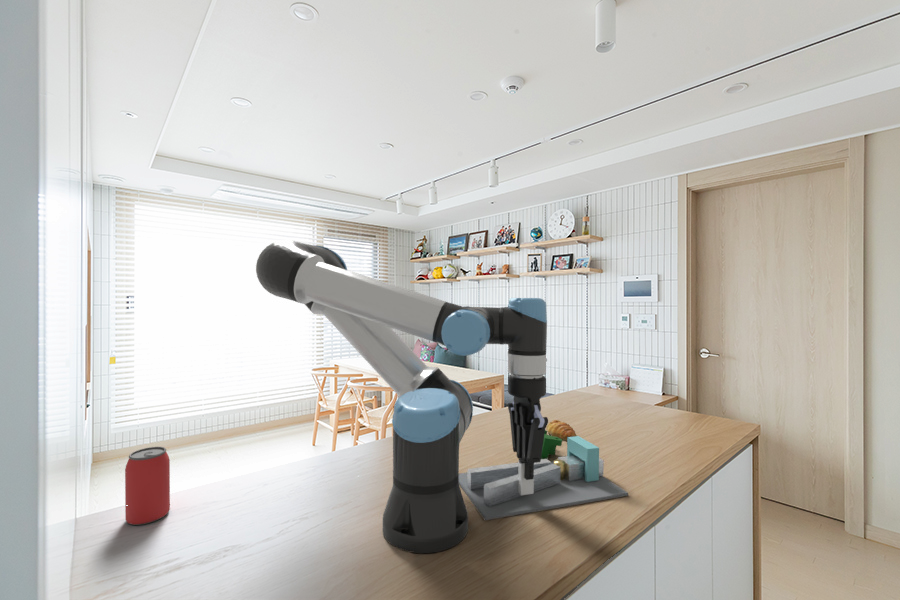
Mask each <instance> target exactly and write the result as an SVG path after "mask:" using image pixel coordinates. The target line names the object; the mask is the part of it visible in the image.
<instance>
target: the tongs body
mask: <svg viewBox="0 0 900 600" xmlns="http://www.w3.org/2000/svg"><path fill="white" fill-rule="evenodd" d="M553 461H554V464H555V465H557V466H559V467H561V473H560V480H564V479H565V478H566V479H567V480H568V481H571V480H578V479H585V461H584V460H582V459H581V458H579V457H577V456H576V455H571V456H567V455H565V456H558V457H557V458H556V459H554V460H553ZM604 462H605V461H604V459H603V458H601V457H599V476H603V477H604V466H605V465H604ZM548 465H551V462H550V460H549V459H548V458H547V459H541V461H540V462H537V463H534V469H538V468H541V467H545V466H548ZM467 472H468V474H467V485H468V487H469V488H470V489H471V490H472V489H478V488H484V484H487V483H490V482H494V481H497V480H500V479H504V478H507V477H511V476H514V475H517V474H518V461H517V462H511V463H505V464H503V463H502V464H496V465H489V466H480V467H474V468H467Z"/></svg>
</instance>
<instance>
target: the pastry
mask: <svg viewBox="0 0 900 600" xmlns="http://www.w3.org/2000/svg"><path fill="white" fill-rule="evenodd" d="M546 431H547V434H548V435H550V436H554V437H558V438H560V439H562V440H563V441H566V442H567V437H574V436H578V435H577V434H576V431H575V430H574V429H573V427H572V426H570V424H567V422H564V421H561V420H558V419H553V420H552V421H550V422H548V424H547V426H546Z"/></svg>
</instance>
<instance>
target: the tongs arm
mask: <svg viewBox="0 0 900 600" xmlns="http://www.w3.org/2000/svg"><path fill="white" fill-rule="evenodd" d="M560 473H561V467H559V466H557V465H555V464H551V465H548V466H545V467H541V468H538V469H534V492H535V491H538V490H541V489H544V488H547V487H550V486H553V485H556V484H559V483H560ZM520 496H523V495H520V494H519V493H518V474H517V475H514V476H511V477H507V478H504V479H500V480H497V481H494V482H490V483H487V484H484V503H486V504H487V505H488V506H493V505H496V504H499V503H502V502H505V501H508V500H511V499H514V498H517V497H520Z"/></svg>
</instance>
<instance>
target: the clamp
mask: <svg viewBox="0 0 900 600" xmlns="http://www.w3.org/2000/svg"><path fill="white" fill-rule="evenodd" d="M563 441H564V440H562V439H560V438H558V437H554V436H551V435H550V434H548V431H547V429H545V434H544V441H543V448H542V455H541V459H547V460H548V459H549V456H550V455H551V456H555V454H556V450H557V449H556V448H557V446H558V447H561V446H562V444H563Z"/></svg>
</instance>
